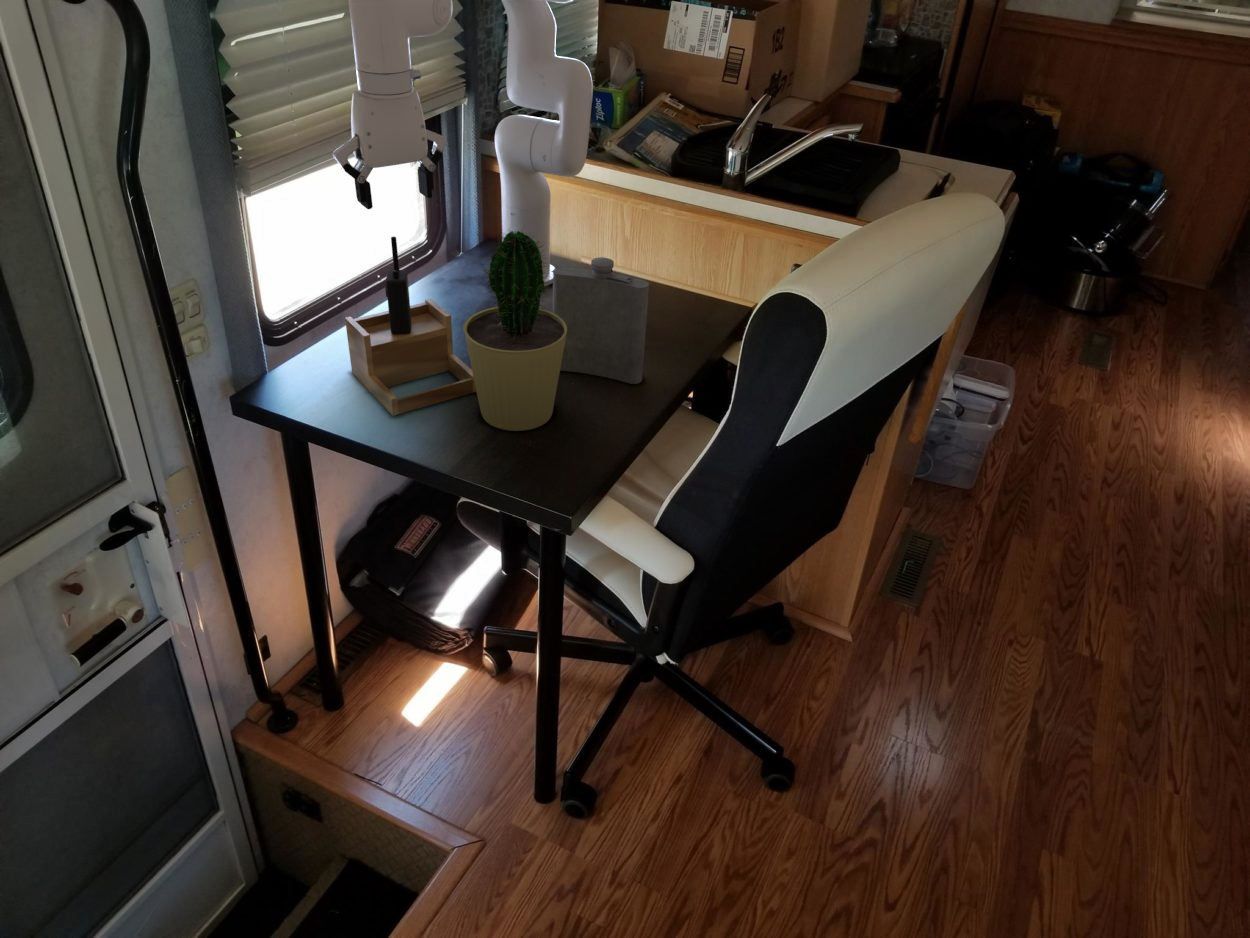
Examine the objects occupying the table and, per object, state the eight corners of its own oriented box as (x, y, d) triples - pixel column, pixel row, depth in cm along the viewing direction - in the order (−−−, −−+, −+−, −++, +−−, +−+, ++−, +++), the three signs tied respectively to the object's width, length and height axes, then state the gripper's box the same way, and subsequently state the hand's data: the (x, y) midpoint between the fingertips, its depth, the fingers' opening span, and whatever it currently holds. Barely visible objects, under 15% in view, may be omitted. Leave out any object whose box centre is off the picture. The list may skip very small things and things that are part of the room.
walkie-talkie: (410, 334, 150) (403, 245, 141) (389, 335, 149) (380, 245, 141) (411, 321, 154) (404, 233, 145) (390, 321, 153) (382, 233, 145)
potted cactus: (470, 386, 153) (462, 208, 136) (564, 387, 154) (568, 211, 137) (463, 438, 140) (454, 248, 123) (566, 438, 142) (570, 251, 125)
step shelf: (351, 372, 155) (344, 317, 149) (434, 351, 162) (430, 298, 157) (392, 416, 144) (387, 359, 139) (478, 391, 152) (476, 336, 146)
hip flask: (549, 368, 159) (550, 258, 148) (557, 358, 163) (558, 249, 151) (639, 385, 156) (647, 273, 145) (645, 374, 160) (653, 264, 148)
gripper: (429, 69, 137) (437, 184, 147) (315, 81, 129) (331, 202, 139) (453, 81, 133) (459, 199, 143) (336, 94, 124) (351, 219, 134)
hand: (396, 200), depth 141 cm, fingers open, 9 cm apart
